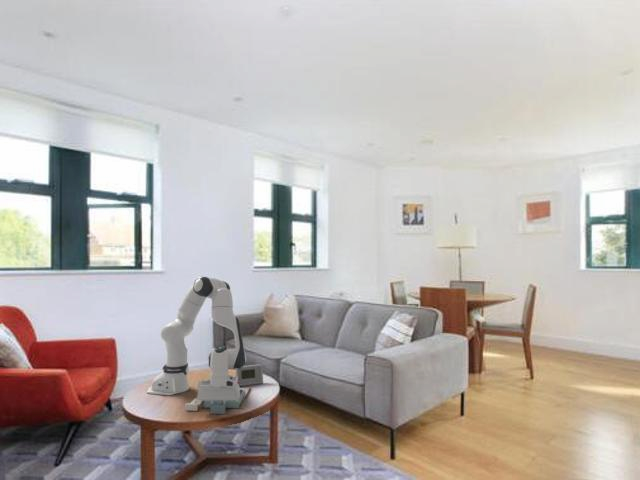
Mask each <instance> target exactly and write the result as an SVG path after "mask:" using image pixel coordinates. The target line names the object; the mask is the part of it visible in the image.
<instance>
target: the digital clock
mask: <svg viewBox="0 0 640 480" xmlns="http://www.w3.org/2000/svg"><path fill="white" fill-rule="evenodd" d="M263 371H264V370H263V364H259V363H258V364H249V365H244V366H243V367H241V368H240V369H237V368H235V377H236V378H239V387H248V386H255V385H259V384H263V383H264V374H263V373H264V372H263Z"/></svg>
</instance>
